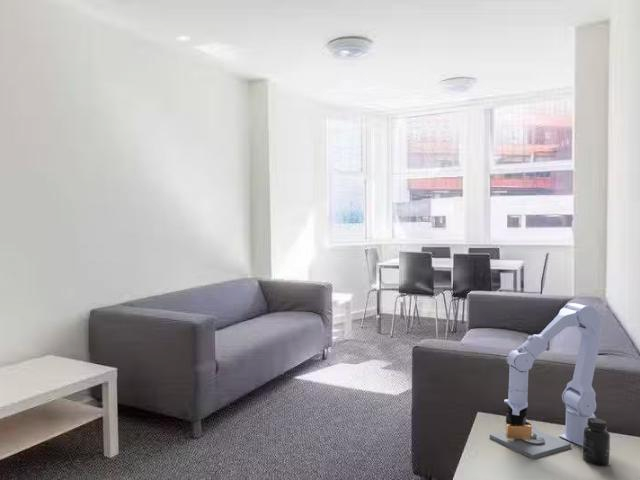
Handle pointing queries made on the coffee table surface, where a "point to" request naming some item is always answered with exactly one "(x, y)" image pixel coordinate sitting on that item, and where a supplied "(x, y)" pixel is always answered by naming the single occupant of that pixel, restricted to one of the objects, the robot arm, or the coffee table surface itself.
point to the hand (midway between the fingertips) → (516, 430)
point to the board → (531, 449)
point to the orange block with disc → (523, 433)
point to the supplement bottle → (596, 442)
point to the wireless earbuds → (522, 422)
